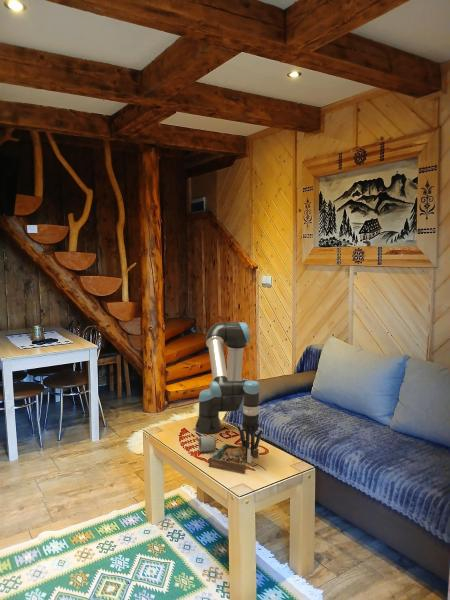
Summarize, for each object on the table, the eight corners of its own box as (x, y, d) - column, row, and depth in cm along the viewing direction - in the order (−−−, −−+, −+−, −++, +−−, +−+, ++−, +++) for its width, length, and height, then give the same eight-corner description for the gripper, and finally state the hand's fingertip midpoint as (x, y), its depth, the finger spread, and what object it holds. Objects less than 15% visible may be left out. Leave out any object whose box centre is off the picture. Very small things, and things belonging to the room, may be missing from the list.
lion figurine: (248, 463, 231) (244, 448, 238) (252, 456, 228) (247, 441, 235) (220, 463, 226) (217, 448, 234) (223, 456, 224) (220, 441, 231)
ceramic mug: (216, 453, 240) (216, 438, 239) (200, 454, 238) (201, 439, 237) (211, 445, 250) (212, 431, 249) (196, 446, 248) (197, 432, 247)
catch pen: (225, 451, 242) (225, 443, 242) (258, 457, 235) (258, 449, 235) (208, 466, 223) (209, 458, 223) (244, 473, 217) (244, 465, 216)
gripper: (235, 413, 224) (234, 461, 225) (261, 418, 218) (259, 467, 220) (241, 409, 230) (239, 456, 232) (266, 413, 225) (264, 461, 227)
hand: (249, 461), depth 226 cm, fingers closed
